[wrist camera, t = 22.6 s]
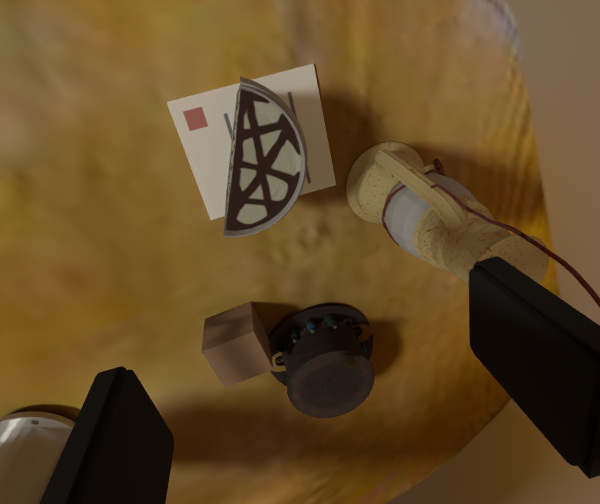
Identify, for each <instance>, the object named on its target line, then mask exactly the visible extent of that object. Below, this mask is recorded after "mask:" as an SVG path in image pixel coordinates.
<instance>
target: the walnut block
mask: <svg viewBox="0 0 600 504" xmlns="http://www.w3.org/2000/svg"><path fill="white" fill-rule="evenodd" d="M202 353H203V354H204V356H205V358H206V359H207V361H208V362H209V364H210V365H211V367H212V369H213V370H214V372H215V373H216V375H217V376H218V378H219V379H220V381H221V383H222V384H223V386H224V387H228V386H231V385H233V384H236V383H238V382H241V381H244V380H246V379H249V378H251V377H254V376H257V375H259V374H262V373H264V372H267V371H270V370H272V369H273V364H272V357H271V350H270V343H269V336H268V334H267V332H266V330H265V328H264V326H263V324H262V322H261V320H260V318H259V316H258V314H257V312H256V310H255V308H254V306H253V304H252V302H248V303H245V304H243V305H240V306H238V307H235V308H232V309H230V310H227V311H225V312H222V313H219V314H217V315H214V316H212V317H209V318H207V319H205V325H204V334H203V344H202Z"/></svg>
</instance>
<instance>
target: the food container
mask: <svg viewBox="0 0 600 504" xmlns="http://www.w3.org/2000/svg"><path fill="white" fill-rule="evenodd" d="M307 162H308V159H307V146H306V141H305V136H304V134H303V131H302V128H301V125H300V124H299V122H298V120H297V118H296V116H295V114H294V113H293V112H292V110H291V109H290V108H289V107H288V105H287V104H286V103H285V102H284V101H283V100H282V99H281V98H280V97H279V96H278V95H277V94H275V93H274V92H273V91H271V90H270V89H268V88H267V87H265V86H263V85H261V84H259V83H257V82H255V81H253V80H249V79H246V78H242V77H240V86H239V89H238V91H237V94H236V104H235V113H234V122H233V132H232V141H231V151H230V160H229V170H228V179H227V189H226V205H225V222H224V233H223V234H224V237H241V236H247V235H251V234H255V233H258V232H260V231H262V230H265V229H267V228H269V227H270V226H272V225H274V224H275V223H277V222H278V221H279V220H280V219H282V218H283V217H284V216H285V215H286V214H287V213H288V212H289V210H290V209H291V208H292V207H293V205H294V204H295V202H296V201H297V199H298V197H299V195H300V193H301V191H302V188H303V185H304V182H305V178H306V171H307Z"/></svg>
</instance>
